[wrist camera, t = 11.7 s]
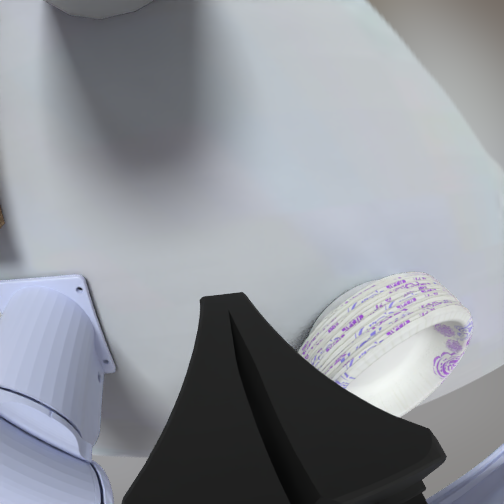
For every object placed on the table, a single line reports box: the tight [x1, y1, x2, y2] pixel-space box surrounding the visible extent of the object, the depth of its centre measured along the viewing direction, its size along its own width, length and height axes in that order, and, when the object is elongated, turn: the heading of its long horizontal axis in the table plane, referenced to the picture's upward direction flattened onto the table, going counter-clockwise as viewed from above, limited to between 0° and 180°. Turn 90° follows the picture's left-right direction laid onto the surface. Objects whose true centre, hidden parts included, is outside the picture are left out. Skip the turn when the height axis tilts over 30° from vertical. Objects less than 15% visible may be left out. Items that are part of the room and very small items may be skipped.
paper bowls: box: [298, 272, 473, 418], centre depth 23 cm, size 15×15×8 cm
